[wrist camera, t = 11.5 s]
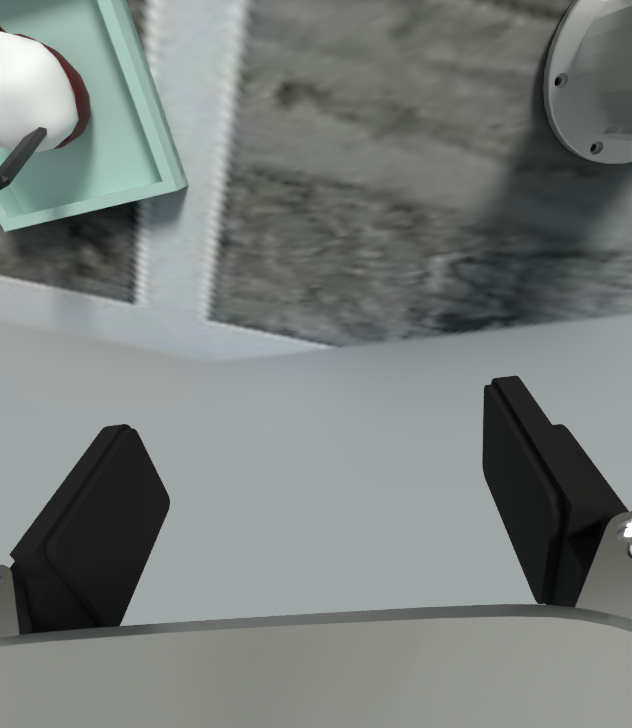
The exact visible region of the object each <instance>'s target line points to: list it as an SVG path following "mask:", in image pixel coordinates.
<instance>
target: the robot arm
mask: <svg viewBox="0 0 632 728" xmlns="http://www.w3.org/2000/svg"><path fill="white" fill-rule="evenodd" d="M556 77H557V78H558V84H557V85H556V86H555V83H554V82H555V78H556ZM543 95H544V106H545V111H546V114H547V118H548V121H549V124H550V126H551V128H552V130H553V132H554V133H555V135H556V137H557V139H558V140H559V141H560V142H561V143H562V144H563V145H564V146H565V147H566V148H567V149H568V150H569V151H571V152H572V153H574V154H576V155H577V156H579V157H581V158H584V159H587V160H590V161H593V162H599V163H606V164H625V163H629V162H632V0H574V1H573V2H572V3H571V5H570V6H569V8H568V10H567V12H566V13H565V15H564V17H563V19H562V21H561V22H560V24H559V26H558V28H557V31H556V33H555V36H554V38H553V41H552V43H551V46H550V49H549V53H548V57H547V61H546V66H545V71H544V83H543ZM592 145H593V148H592V150H591V151H590V148H591V146H592ZM483 417H484V418H483V472H484V476H485V479H486V482H487V484H488V487H489V489H490V491H491V494H492V496H493V499H494V501H495V503H496V506H497V508H498V511H499V513H500V516H501V518H502V520H503V523H504V525H505V528H506V530H507V533H508V535H509V538H510V540H511V542H512V545H513V547H514V550H515V552H516V555H517V557H518V560H519V562H520V564H521V567H522V569H523V572H524V574H525V576H526V579H527V581H528V584H529V586H530V589H531V591H532V594H533V596H534V598H535V600H536V602H537V603H538V604H546V605H525V604H520V605H519V604H513V605H512V604H502V605H501V604H500V605H475V606H449V607H426V608H425V607H424V608H407V609H390V610H372V611H354V612H336V613H319V614H303V615H287V616H270V617H254V618H238V619H222V620H206V621H193V622H192V621H190V622H176V623H161V624H147V625H133V626H120V624H121V622H122V619H123V617H124V615H125V612H126V610H127V607H128V605H129V603H130V600H131V598H132V596H133V593H134V591H135V588H136V586H137V584H138V581H139V579H140V576H141V574H142V572H143V570H144V567H145V564H146V562H147V560H148V557H149V555H150V553H151V550H152V548H153V546H154V543H155V541H156V539H157V536H158V534H159V531H160V529H161V527H162V524H163V522H164V519H165V517H166V515H167V512H168V510H169V505H170V499H169V496H168V494H167V491H166V489H165V487H164V485H163V483H162V481H161V479H160V477H159V475H158V473H157V471H156V469H155V467H154V465H153V463H152V461H151V459H150V457H149V455H148V453H147V451H146V449H145V447H144V445H143V442H142V440H141V438H140V437H139V434H138V433H137V431H136V430H135V429H131V427H130V426H129V425H126V424H122V425H114V426H107V427H105V428H103V429H102V430H101V431H100V433H99V434H98V435H97V437H96V438H95V440H94V441H93V442H92V444H91V445H90V447H89V448H88V449H87V450H86V452H85V453H84V454H83V456H82V457H81V459H80V460H79V461H78V463H77V464H76V465H75V467H74V468H73V469H72V471H71V472H70V473H69V475H68V476H67V477H66V479H65V480H64V482H63V483H62V484H61V486H60V487H59V488H58V490H57V491H56V493H55V494H54V495H53V496H52V498H51V500H50V501H49V502H48V503H47V505H46V506H45V507H44V509H43V510H42V511H41V513H40V514H39V516H38V517H37V518H36V519H35V521H34V522H33V523H32V525H31V526H30V528H29V529H28V530H27V532H26V533H25V534H24V536H23V537H22V539H21V540H20V541H19V542H18V544H17V545H16V547H15V548H14V549H13V551H12V552H11V553H10V556H11V557H12V558H13V559H14V561H15V562H14V563H13V565H12V566H11V567H10V568H8V567H7V566H4V565H0V728H632V511H631V512H629V511H628V510H627V508H626V507H625V506H624V505H623V503H622V502H621V500H620V499H619V498H618V496H617V495H616V493H615V492H614V491H613V490H612V488H611V487H610V485H609V484H608V483H607V481H606V480H605V479H604V477H603V476H602V474H601V473H600V472H599V470H598V469H597V468H596V466H595V465H594V464H593V462H592V461H591V460H590V458H589V457H588V455H587V454H586V453H585V451H584V450H583V449H582V447H581V446H580V445H579V443H578V442H577V441H576V439H575V438H574V436H573V435H572V434H571V432H570V431H569V430H568V429H567V428H566V427H565V426H564V425H562V424H558V425H552V424H551V422H550V421H549V420H548V418H547V417H546V415H545V414H544V413H543V411H542V410H541V408H540V407H539V405H538V404H537V402H536V401H535V400H534V398H533V397H532V395H531V394H530V392H529V391H528V390H527V388H526V387H525V385H524V384H523V382H522V381H521V379H520V378H519V377H518V376H510V377H501V378H494V379H493V380H492V382H491V385H485V387H484V416H483Z"/></svg>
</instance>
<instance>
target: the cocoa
mask: <svg viewBox="0 0 632 728" xmlns="http://www.w3.org/2000/svg"><path fill="white" fill-rule="evenodd" d="M90 116H91V115H90V96H89V93H88V91H87V89H86V87H85V84H84V82H83V80H82V77H81V75H80V74H79V73H78V72H77V71H76V70H75V69H74V67H73V66H72V65H71V64H70V63H69V62H68V61H67V60H66V59H65V58H64V57H63V56H62V55H61V54H60V53H59V52H57V51H56V50H55V49H53V48H51V47H49V46H47V45H45V44H43V43H41V42H39V41H37V40H35V39H33V38H31V37H28V36H25V35H23V34H9V33H7V32H6V31H5V30H4V29H3V28H2V27H0V147H2V148H5V149H8V150H12V152H11V154H10V155H9V156H8V157H7V158H6V160H5V161H4V162H3V163H2V164H1V166H0V190H2V189H3V188H5V187H7V186H8V185H10V184H11V182H12V181H13V180H14V178H15V177H16V176H17V174H18V173H19V171H20V170H21V169H22V167H23V166H24V165H25V163H26V162H27V161H28V159H29V158H30V157H31V155H32V154H33V152H41V151H45V150H49V149H57V148H62V147H64V146H65V145H67V144H68V143H70V142H71V141H73V140H74V139H76V138H77V137H79V136H80V135H81V134H82V133H83V132H84V130H85V128H86V126H87V123H88V121H89V119H90Z"/></svg>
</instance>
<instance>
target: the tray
mask: <svg viewBox="0 0 632 728" xmlns="http://www.w3.org/2000/svg"><path fill="white" fill-rule="evenodd" d="M0 27H2V28H3V29H4V30H5V31H6V32H7V33H9V34H23V35H25V36H28V37H31V38H33V39H35V40H37V41H39V42H41V43H43V44H45V45H47V46H49V47H51V48H53V49H55V50H56V51H57V52H59V53H60V54H61V55H62V56H63V57H64V58H65V59H66V60H67V61H68V62H69V63H70V64H71V65H72V66H73V67H74V69H75V70H76V71H77V72H78V73H79V74H80V75H81V77H82V80H83V82H84V84H85V87H86V89H87V91H88V93H89V96H90V115H91V116H90V119H89V121H88V123H87V126H86V128H85V130H84V132H83V133H82V134H81V135H80V136H79V137H77V138H76V139H74V140H73V141H71V142H70V143H68V144H67V145H65V146H64V147H62V148H57V149H49V150H45V151H41V152H33V154H32V155H31V157H30V158H29V159H28V161H27V162H26V163H25V165H24V166H23V167H22V169H21V170H20V171H19V173H18V174H17V176H16V177H15V178H14V180H13V181H12V182H11V184H10V185H8V186H7V187H5V188H3V189H2V190H0V224H1V226H2V228H3V229H4V231H10V230H14V229H18V228H22V227H26V226H31V225H35V224H39V223H43V222H47V221H52V220H56V219H60V218H64V217H68V216H73V215H77V214H81V213H85V212H89V211H94V210H98V209H102V208H106V207H111V206H115V205H119V204H123V203H127V202H132V201H136V200H140V199H144V198H148V197H153V196H157V195H161V194H165V193H169V192H174V191H178V190H180V189H182V188H184V187H186V186H188V182H187V179H186V176H185V173H184V170H183V167H182V164H181V162H180V159H179V156H178V153H177V150H176V147H175V144H174V141H173V138H172V135H171V132H170V129H169V126H168V123H167V120H166V117H165V114H164V111H163V108H162V105H161V102H160V99H159V96H158V93H157V90H156V87H155V84H154V81H153V78H152V75H151V72H150V69H149V66H148V63H147V60H146V57H145V54H144V51H143V48H142V45H141V43H140V40H139V37H138V34H137V31H136V28H135V25H134V22H133V19H132V16H131V13H130V10H129V7H128V4H127V1H126V0H0ZM11 152H12V150H8V149H5V148H2V147H0V166H1V164H2V163H3V162H4V161H5V160H6V158H7V157H8V156H9V155H10V154H11Z"/></svg>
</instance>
